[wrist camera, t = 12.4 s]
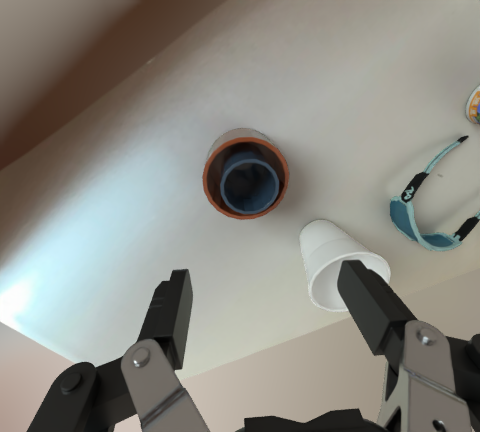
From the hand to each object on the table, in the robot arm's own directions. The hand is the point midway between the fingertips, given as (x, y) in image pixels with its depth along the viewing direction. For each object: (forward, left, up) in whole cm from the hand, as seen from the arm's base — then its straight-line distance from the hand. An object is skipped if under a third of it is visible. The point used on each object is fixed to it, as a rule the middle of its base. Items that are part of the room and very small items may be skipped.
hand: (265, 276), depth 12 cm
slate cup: (0, 0, -21) cm, 21 cm away
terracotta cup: (0, 0, -21) cm, 21 cm away
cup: (+12, +12, -22) cm, 28 cm away
